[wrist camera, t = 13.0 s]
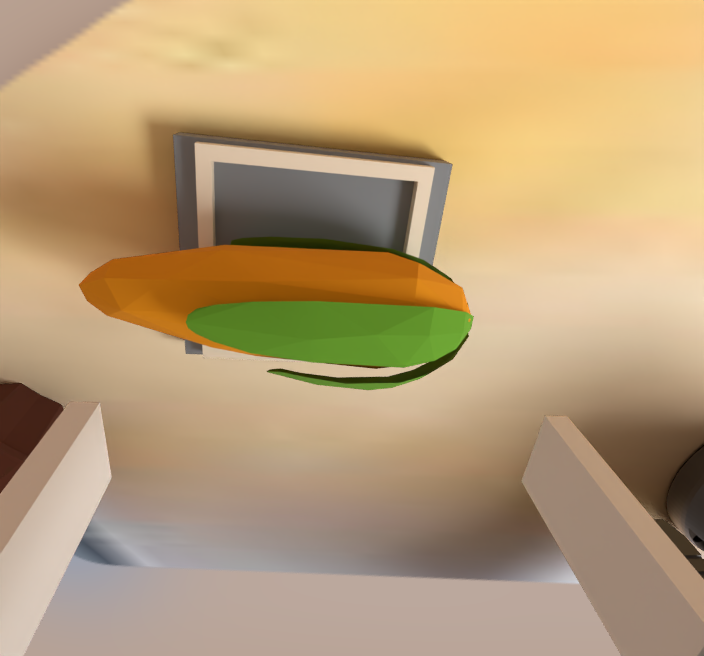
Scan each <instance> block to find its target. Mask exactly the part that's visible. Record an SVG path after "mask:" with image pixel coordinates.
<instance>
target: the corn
mask: <svg viewBox="0 0 704 656" xmlns="http://www.w3.org/2000/svg"><path fill="white" fill-rule="evenodd" d="M79 286H80V288H81V290H82V292H83V294H84V296H85V298H86V300H87V301H88V302H89V303H91V304H92V305H93V306H95V307H96V308H98V309H99V310H100V311H102V312H103V313H104V314H106V315H107V316H110V317H114V318H117V319H120V320H124V321H127V322H130V323H133V324H137V325H140V326H143V327H146V328H150V329H153V330H156V331H160V332H163V333H166V334H169V335H173V336H176V337H179V338H183V339H186V340H189V341H192V342H196V343H199V344H202V345H206V346H209V347H212V348H217V349H222V350H227V351H233V352H238V353H243V354H248V355H254V356H260V357H270V358H280V359H289V360H299V361H307V362H316V363H327V364H337V365H346V366H356V367H365V368H375V369H377V368H385V367H403V368H404V367H409V366H413V365H418V364H422V363H426V364H424V365H422V366H420V367H418V368H416V369H414V370H411V371H408V372H404V373H400V374H396V375H393V376H389V377H346V378H336V377H329V376H321V375H313V374H305V373H298V372H294V371H289V370H285V369H271V370H268V371H267V372H269V373H273V374H277V375H281V376H285V377H289V378H293V379H297V380H301V381H305V382H308V383H312V384H316V385H325V386H334V387H344V388H354V389H363V390H374V389H384V388H393V387H396V386H399V385H402V384H405V383H408V382H411V381H414V380H418V379H420V378H422V377H424V376H426V375H428V374H429V373H431V372H433V371H434V370H436V369H438V368H439V367H441V366H442V365H444V364H446V363H447V362H449V361H451V360H452V359H453V358H454V357H455V355H456V354H457V352H458V351H459V350H460V348H461V347H462V345H463V344H464V342H465V341H466V339H467V338H468V337H469V335H468V332H469V331H470V329H471V326H472V321H473V317H474V316H472V315H471V313H470V310H469V307H468V303H467V301H466V298H465V295H464V292H463V289H462V287H460V286H458V285H457V284H455V283H454V282H453V281H452V279H451V278H450V277H448V276H447V275H445V274H444V273H442V272H441V271H439V270H438V269H437V268H435V267H434V266H432V265H431V264H429V263H428V262H426V261H425V260H423V259H420V258H417V257H414V256H412V255H409V254H406V253H403V252H400V251H397V250H395V249H391V248H384V247H377V246H370V245H363V244H357V243H350V242H343V241H336V240H329V239H320V238H294V237H250V238H240V239H235V240H232V241H231V244H230V245H219V246H211V247H204V248H196V249H188V250H181V251H173V252H165V253H158V254H150V255H142V256H135V257H127V258H120V259H112V260H111V261H109V262H107V263H106V264H104V265H102V266H101V267H99V268H97V269H96V270H94V271H92V272H91V273H90V274H89V275H88V276H87V277H86V278H85V279H84V280H83V281H82V282H81V283H80V284H79ZM427 362H428V363H427Z"/></svg>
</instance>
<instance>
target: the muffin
mask: <svg viewBox="0 0 704 656" xmlns="http://www.w3.org/2000/svg"><path fill="white" fill-rule="evenodd" d="M63 410H64V409H63V407H62V405H61V404H59V403H57V402H55V401H53V400H50V399H48V398H46V397H44V396H41V395H40V394H38V393H36V392H35V391H33V390H31V389H30V388H28V387H27V386H25V385H23V384H22V383H13V384H0V493H1V492H2V491H3V489H4V488H5V487H6V486H7V484H8V483H9V482H10V480H11V479H12V478H13V476H14V475H15V474H16V472H17V471H18V470H19V468H20V467H21V466H22V464H23V463H24V462H25V460H26V459H27V458H28V456H29V455H30V454H31V452H32V451H33V450H34V448H35V447H36V446H37V445H38V443H39V442H40V441H41V439H42V438H43V437H44V435H45V434H46V433H47V431H48V430H49V429H50V427H51V426H52V425H53V423H54V422H55V421H56V419H57V418H58V417H59V415H60V414H61V413H62V411H63Z"/></svg>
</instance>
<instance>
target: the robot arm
mask: <svg viewBox="0 0 704 656" xmlns="http://www.w3.org/2000/svg"><path fill="white" fill-rule="evenodd" d="M111 478H112V476H111V470H110V463H109V457H108V451H107V444H106V438H105V431H104V425H103V419H102V412H101V406H100V402H72V401H70V402H69V404H68V405H67V406H66V407H65V409H64V410H63V411H62V413H61V414H60V415H59V417H58V418H57V419H56V421H55V422H54V423H53V425H52V426H51V427H50V429H49V430H48V431H47V433H46V434H45V435H44V437H43V438H42V439H41V441H40V442H39V443H38V445H37V446H36V447H35V448H34V450H33V451H32V452H31V454H30V455H29V456H28V458H27V459H26V460H25V462H24V463H23V464H22V466H21V467H20V468H19V470H18V471H17V472H16V474H15V475H14V476H13V478H12V479H11V480H10V482H9V483H8V484H7V486H6V487H5V488H4V489H3V491H2V492H1V493H0V656H24V654H25V652H26V650H27V648H28V646H29V644H30V642H31V640H32V638H33V636H34V634H35V632H36V630H37V628H38V625H39V624H40V622H41V620H42V618H43V616H44V614H45V612H46V609H47V608H48V605H49V603H50V601H51V599H52V597H53V595H54V593H55V591H56V589H57V587H58V585H59V583H60V581H61V579H62V577H63V575H64V573H65V571H66V569H67V567H68V565H69V563H70V561H71V559H72V557H73V555H74V553H75V551H76V549H77V547H78V545H79V543H80V541H81V539H82V537H83V535H84V533H85V531H86V529H87V527H88V525H89V523H90V521H91V519H92V517H93V515H94V513H95V511H96V509H97V507H98V505H99V503H100V500H101V498H102V496H103V494H104V492H105V490H106V488H107V486H108V484H109V482H110V480H111ZM521 482H522V484H523V485H524V487H525V489H526V490H527V492H528V494H529V496H530V497H531V499H532V501H533V503H534V504H535V506H536V508H537V510H538V511H539V513H540V515H541V517H542V518H543V520H544V522H545V524H546V525H547V527H548V529H549V531H550V532H551V534H552V536H553V538H554V539H555V541H556V543H557V544H558V546H559V548H560V550H561V551H562V553H563V555H564V557H565V558H566V560H567V562H568V564H569V565H570V567H571V569H572V571H573V572H574V574H575V576H576V578H577V579H578V581H579V583H580V585H581V586H582V588H583V590H584V592H585V593H586V595H587V597H588V598H589V600H590V602H591V604H592V605H593V607H594V609H595V611H596V612H597V614H598V616H599V618H600V619H601V621H602V623H603V625H604V626H605V628H606V630H607V632H608V633H609V635H610V637H611V639H612V640H613V642H614V644H615V646H616V647H617V649H618V651H619V652H620V654H621V656H704V559H702V557H701V554H700V553H699V552H698V551H697V550H696V548H695V547H694V546H693V545H692V544H691V543H690V542H692V543H693V544H694V545H695V546H697V547H698V548H699V549H701V550H703V551H704V446H703V447H702V448H701V449H700V450H698V451H697V452H696V453H695V454H694V455H693V456H692V457H691V458H690V459H689V460H688V461H687V462H686V463H685V464H684V466H683V467H682V468H681V469H680V471H679V472H678V474H677V475H676V477H675V479H674V480H673V482H672V484H671V487H670V489H669V492H668V496H667V511H668V515H669V517H670V519H671V520H672V522H673V523H674V524H675V525H676V526H677V527H678V529H679V530H680V531H681V532H682V533H683V534H684V535H685V536H686V537H685V536H684V535H683V534H681V533H680V532H679V531H678V530H676V529H675V528H674V527H672V526H671V525H670V524H668V523H667V522H666V521H665V520H663V519H653V518H652V517H651V516H650V514H649V513H648V512H647V511H646V510H645V508H644V507H643V506H642V505H641V504H640V503H639V501H638V500H637V499H636V498H635V497H634V495H633V494H632V493H631V492H630V491H629V489H628V488H627V487H626V486H625V485H624V483H623V482H622V481H621V480H620V479H619V477H618V476H617V475H616V474H615V473H614V471H613V470H612V469H611V468H610V467H609V465H608V464H607V463H606V462H605V461H604V459H603V458H602V457H601V456H600V455H599V453H598V452H597V451H596V450H595V449H594V447H593V446H592V445H591V444H590V443H589V441H588V440H587V439H586V438H585V437H584V435H583V434H582V433H581V432H580V431H579V430H578V428H577V427H576V426H575V425H574V424H573V422H572V421H571V420H570V419H569V418H568V416H544V419H543V422H542V425H541V428H540V430H539V433H538V436H537V439H536V442H535V444H534V447H533V450H532V453H531V456H530V458H529V461H528V464H527V467H526V469H525V472H524V475H523V478H522V481H521ZM689 541H690V542H689Z"/></svg>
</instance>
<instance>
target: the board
mask: <svg viewBox="0 0 704 656" xmlns="http://www.w3.org/2000/svg"><path fill="white" fill-rule="evenodd" d="M173 141H174V158H175V176H176V193H177V210H178V228H179V245H180V251H181V250H188V249H196V248H204V247H211V246H219V245H230V244H231V241H232V240H235V239H240V238H250V237H294V238H320V239H329V240H336V241H343V242H350V243H357V244H363V245H370V246H377V247H384V248H391V249H395V250H397V251H400V252H403V253H406V254H409V255H412V256H414V257H417V258H420V259H423V260H425V261H426V262H428V263H429V264H431V265H433V260H434V255H435V250H436V245H437V240H438V235H439V230H440V225H441V220H442V215H443V210H444V205H445V199H446V194H447V189H448V184H449V179H450V174H451V169H452V164H451V163H449V162H447V161H444V160H434V159H425V158H415V157H406V156H397V155H387V154H378V153H368V152H359V151H350V150H340V149H331V148H322V147H312V146H303V145H293V144H284V143H275V142H265V141H256V140H246V139H237V138H228V137H218V136H209V135H199V134H190V133H181V132H179V133H177V134H174V135H173ZM185 350H186V354H203V358H212V359H238V360H265V361H291V362H307V361H299V360H289V359H280V358H270V357H260V356H254V355H248V354H243V353H238V352H233V351H227V350H222V349H217V348H212V347H209V346H206V345H202V344H199V343H196V342H192V341H189V340H186V339H185Z"/></svg>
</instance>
